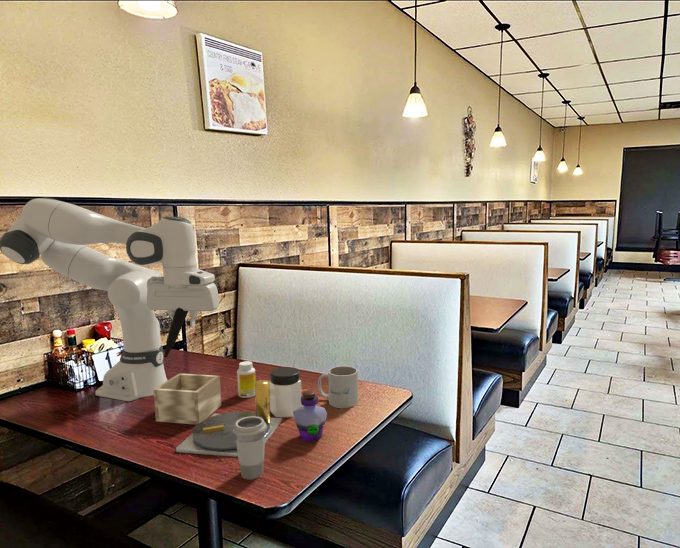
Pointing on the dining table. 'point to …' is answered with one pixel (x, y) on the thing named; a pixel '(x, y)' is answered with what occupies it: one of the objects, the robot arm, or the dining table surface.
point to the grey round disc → (232, 422)
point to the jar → (285, 391)
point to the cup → (250, 445)
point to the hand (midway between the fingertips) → (184, 326)
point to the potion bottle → (310, 417)
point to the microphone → (175, 329)
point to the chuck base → (192, 447)
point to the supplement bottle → (246, 380)
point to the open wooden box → (187, 398)
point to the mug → (341, 386)
